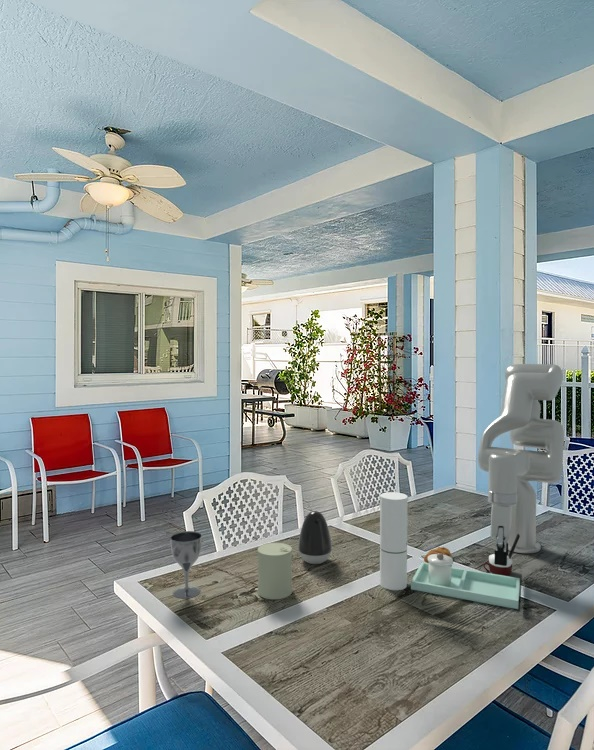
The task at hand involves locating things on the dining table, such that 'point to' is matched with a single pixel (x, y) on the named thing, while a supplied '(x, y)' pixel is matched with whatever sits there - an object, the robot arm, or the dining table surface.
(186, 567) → the wine glass
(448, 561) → the sugar pot
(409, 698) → the dining table surface
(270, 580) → the can
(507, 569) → the cocoa
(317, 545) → the black egg-shaped piece
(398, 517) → the cylindrical container
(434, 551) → the pastry
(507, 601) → the tray
